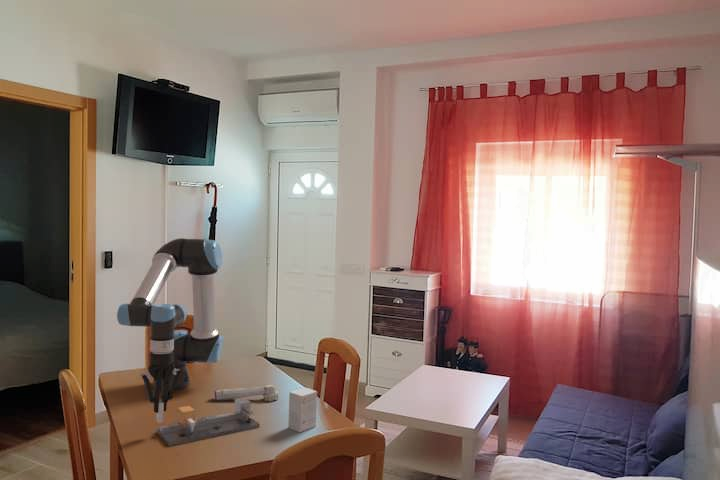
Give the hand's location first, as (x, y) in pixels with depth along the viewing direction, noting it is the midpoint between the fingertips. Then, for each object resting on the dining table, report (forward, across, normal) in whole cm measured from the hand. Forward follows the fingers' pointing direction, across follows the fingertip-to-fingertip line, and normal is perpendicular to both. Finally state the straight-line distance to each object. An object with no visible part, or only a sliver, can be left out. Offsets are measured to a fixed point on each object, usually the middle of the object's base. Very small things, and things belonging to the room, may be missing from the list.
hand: (159, 421), depth 186 cm
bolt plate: (+5, +16, -4) cm, 17 cm away
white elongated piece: (+5, +41, +18) cm, 45 cm away
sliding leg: (+3, +9, -2) cm, 10 cm away
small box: (+5, +45, -18) cm, 49 cm away
